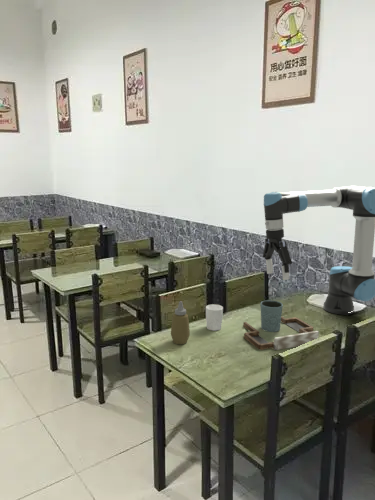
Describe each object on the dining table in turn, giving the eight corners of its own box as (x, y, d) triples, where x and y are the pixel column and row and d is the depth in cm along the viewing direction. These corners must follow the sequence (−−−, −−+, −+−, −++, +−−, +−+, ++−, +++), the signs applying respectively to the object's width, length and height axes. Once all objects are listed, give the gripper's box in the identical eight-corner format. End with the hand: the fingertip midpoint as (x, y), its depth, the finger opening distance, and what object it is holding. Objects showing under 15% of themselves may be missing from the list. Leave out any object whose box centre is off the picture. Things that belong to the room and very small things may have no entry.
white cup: (221, 332, 188) (222, 311, 186) (203, 330, 190) (204, 309, 188) (223, 325, 196) (224, 305, 194) (206, 323, 197) (207, 303, 195)
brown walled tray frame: (292, 319, 205) (293, 309, 204) (329, 340, 181) (330, 329, 180) (231, 327, 193) (232, 317, 192) (262, 352, 169) (263, 340, 168)
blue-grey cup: (273, 334, 187) (275, 309, 184) (254, 328, 193) (256, 303, 191) (285, 328, 194) (287, 303, 191) (266, 322, 201) (268, 298, 198)
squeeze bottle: (167, 339, 179) (168, 299, 176) (185, 336, 182) (185, 297, 179) (174, 347, 172) (175, 305, 168) (192, 344, 175) (193, 303, 171)
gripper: (253, 227, 191) (256, 272, 195) (282, 233, 168) (285, 284, 172) (267, 224, 193) (271, 269, 197) (298, 230, 170) (301, 280, 174)
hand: (277, 276), depth 184 cm, fingers open, 13 cm apart
